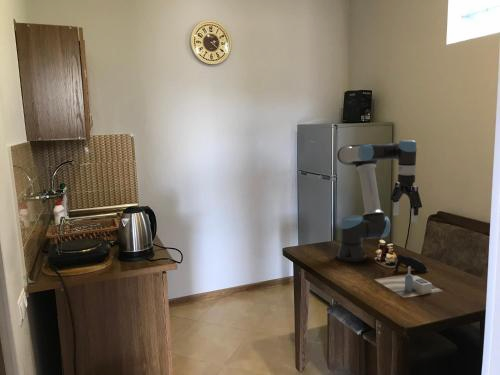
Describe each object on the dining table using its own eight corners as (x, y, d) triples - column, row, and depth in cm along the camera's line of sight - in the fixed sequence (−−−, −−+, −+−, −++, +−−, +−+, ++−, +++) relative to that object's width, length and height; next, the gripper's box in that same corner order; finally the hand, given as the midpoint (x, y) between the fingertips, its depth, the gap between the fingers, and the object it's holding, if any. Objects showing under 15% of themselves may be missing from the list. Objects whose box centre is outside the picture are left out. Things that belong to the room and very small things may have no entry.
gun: (421, 284, 201) (431, 267, 199) (390, 269, 202) (400, 252, 200) (419, 282, 204) (430, 265, 201) (389, 267, 205) (399, 250, 203)
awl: (403, 290, 180) (403, 266, 178) (410, 289, 180) (410, 265, 178) (407, 293, 177) (407, 268, 175) (413, 292, 177) (414, 267, 175)
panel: (374, 280, 193) (374, 279, 193) (410, 274, 199) (410, 273, 198) (403, 299, 172) (403, 297, 172) (442, 292, 178) (443, 290, 178)
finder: (406, 285, 185) (407, 276, 184) (416, 283, 186) (416, 274, 185) (421, 293, 175) (422, 284, 175) (431, 292, 177) (431, 282, 176)
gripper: (383, 171, 199) (382, 213, 203) (417, 178, 175) (415, 225, 179) (397, 170, 201) (395, 211, 205) (432, 177, 177) (429, 224, 181)
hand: (404, 218), depth 192 cm, fingers open, 13 cm apart
